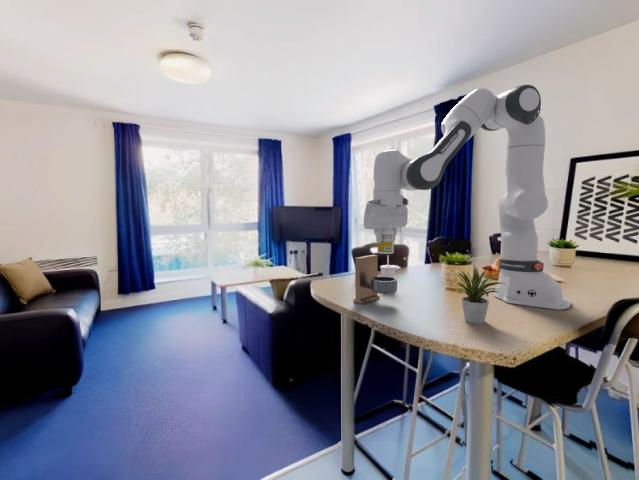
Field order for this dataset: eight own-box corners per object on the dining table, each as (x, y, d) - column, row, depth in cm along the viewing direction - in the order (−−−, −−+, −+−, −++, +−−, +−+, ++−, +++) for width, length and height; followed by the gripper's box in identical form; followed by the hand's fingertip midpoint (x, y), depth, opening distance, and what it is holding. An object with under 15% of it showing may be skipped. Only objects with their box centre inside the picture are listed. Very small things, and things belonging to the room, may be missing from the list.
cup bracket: (403, 304, 110) (403, 258, 108) (385, 310, 103) (386, 261, 101) (371, 296, 120) (371, 254, 118) (353, 302, 113) (353, 257, 111)
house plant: (475, 334, 82) (477, 272, 81) (436, 318, 95) (437, 264, 94) (512, 325, 88) (515, 267, 87) (471, 311, 101) (472, 260, 99)
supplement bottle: (383, 251, 111) (383, 223, 110) (397, 252, 108) (397, 224, 107) (374, 253, 108) (374, 224, 107) (388, 254, 104) (388, 224, 103)
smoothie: (395, 287, 132) (395, 254, 131) (397, 291, 126) (397, 256, 125) (379, 287, 133) (379, 254, 132) (380, 291, 127) (380, 256, 125)
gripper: (375, 199, 97) (374, 244, 98) (411, 200, 110) (410, 240, 112) (359, 200, 101) (358, 243, 102) (395, 200, 115) (395, 239, 116)
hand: (385, 241), depth 107 cm, fingers closed on supplement bottle, 5 cm apart
